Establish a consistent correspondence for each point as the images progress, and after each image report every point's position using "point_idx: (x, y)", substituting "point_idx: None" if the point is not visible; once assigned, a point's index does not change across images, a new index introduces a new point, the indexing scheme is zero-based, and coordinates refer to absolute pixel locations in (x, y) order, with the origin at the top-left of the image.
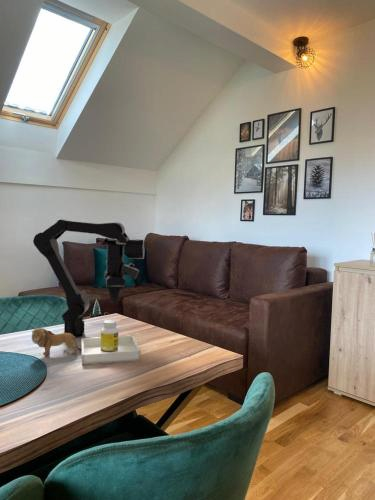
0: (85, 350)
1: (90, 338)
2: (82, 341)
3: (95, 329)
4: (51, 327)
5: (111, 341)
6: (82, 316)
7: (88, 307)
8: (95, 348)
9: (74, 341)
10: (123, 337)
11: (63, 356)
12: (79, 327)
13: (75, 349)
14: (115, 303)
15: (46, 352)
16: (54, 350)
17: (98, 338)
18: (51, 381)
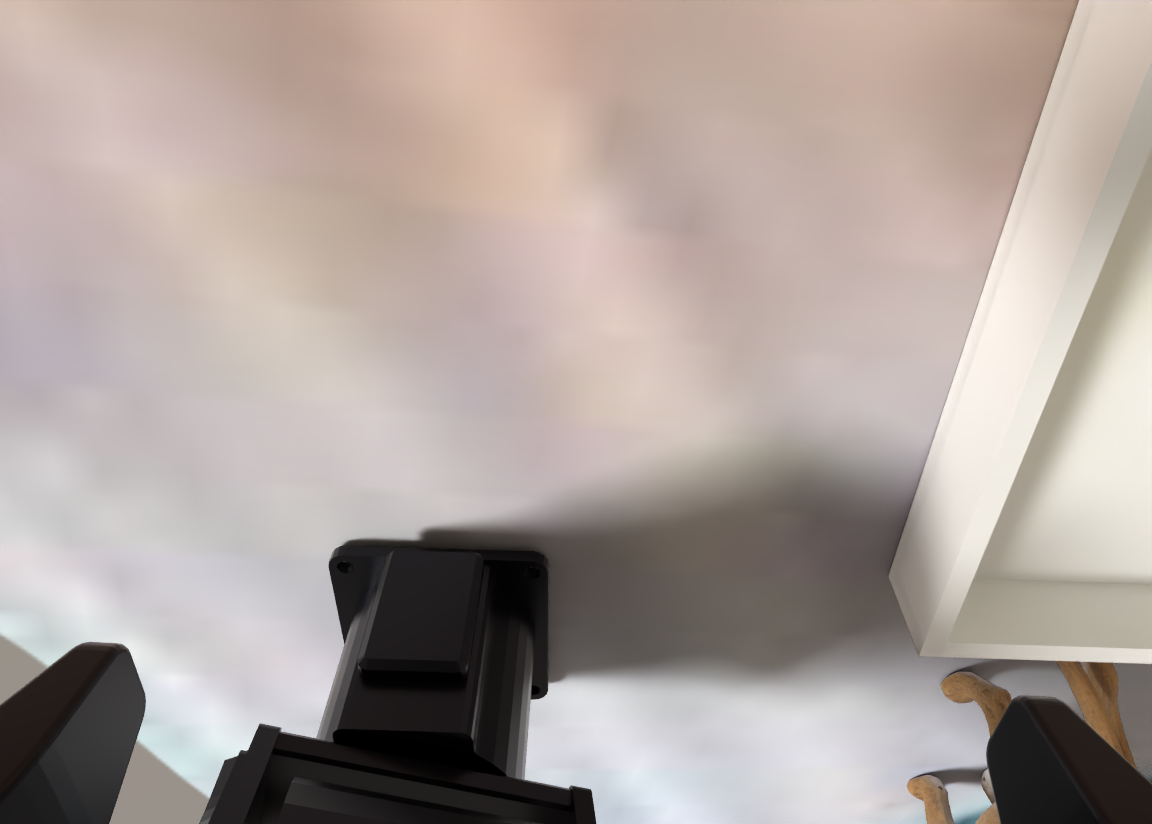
0: (1077, 566)
1: (968, 581)
2: (1040, 652)
3: (242, 407)
4: (187, 753)
5: None
6: (345, 729)
7: (295, 815)
8: (1073, 480)
9: (1112, 741)
10: (1133, 157)
11: (1061, 693)
12: (498, 658)
13: (1115, 670)
14: (1057, 726)
15: (946, 792)
16: (872, 738)
17: (999, 501)
18: None
